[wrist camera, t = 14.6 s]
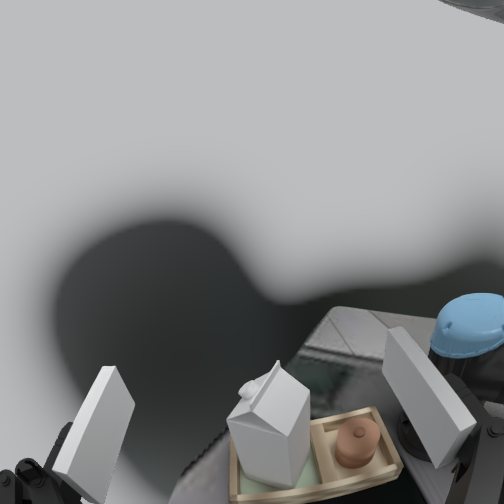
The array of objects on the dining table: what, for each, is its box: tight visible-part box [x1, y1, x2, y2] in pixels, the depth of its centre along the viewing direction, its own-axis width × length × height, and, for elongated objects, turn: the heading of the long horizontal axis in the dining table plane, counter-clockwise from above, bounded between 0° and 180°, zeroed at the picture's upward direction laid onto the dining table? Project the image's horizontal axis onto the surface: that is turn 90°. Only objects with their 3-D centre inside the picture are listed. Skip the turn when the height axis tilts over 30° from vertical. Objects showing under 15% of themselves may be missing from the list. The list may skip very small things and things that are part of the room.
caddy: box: [230, 405, 404, 504], centre depth 33 cm, size 23×13×7 cm, turn 93°
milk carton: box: [227, 360, 310, 490], centre depth 31 cm, size 7×7×19 cm
